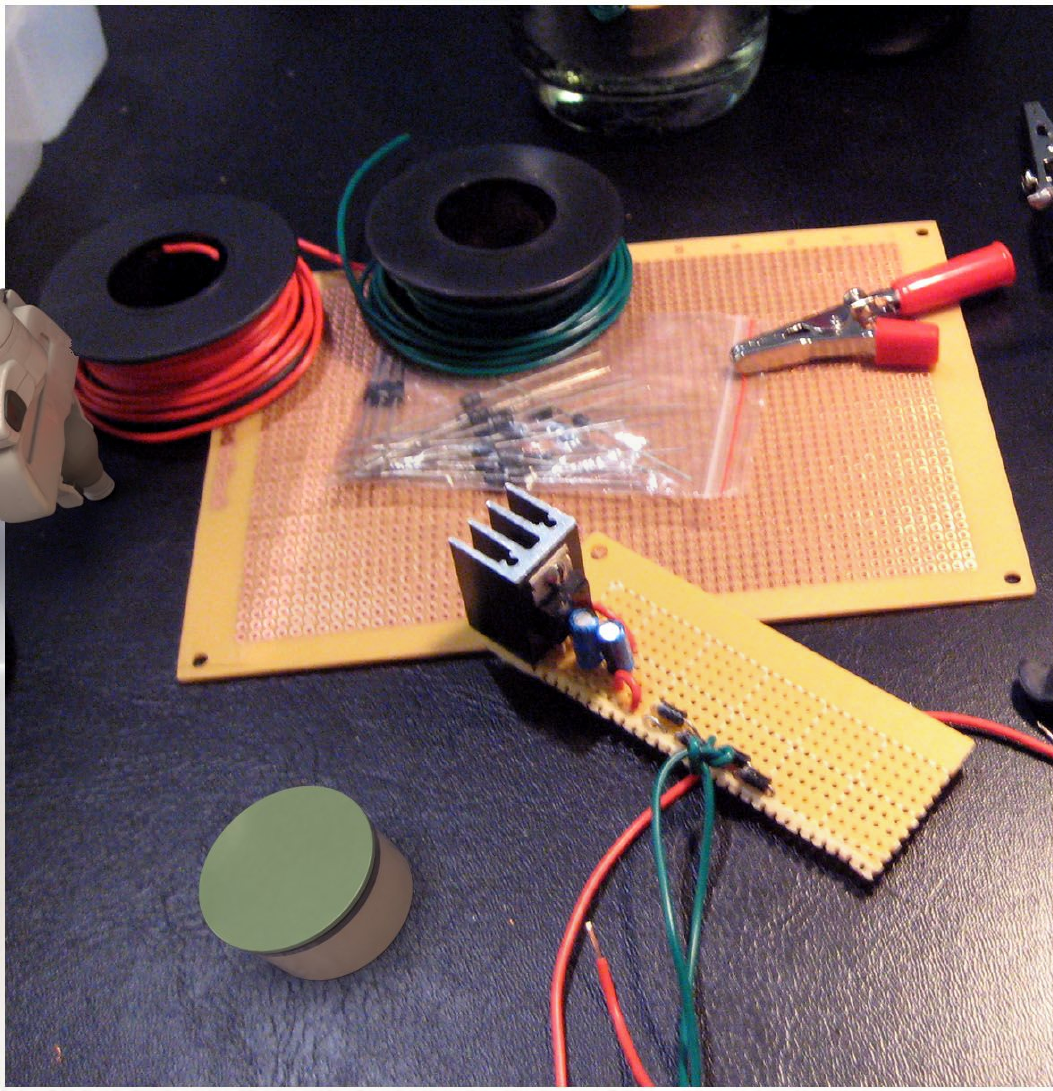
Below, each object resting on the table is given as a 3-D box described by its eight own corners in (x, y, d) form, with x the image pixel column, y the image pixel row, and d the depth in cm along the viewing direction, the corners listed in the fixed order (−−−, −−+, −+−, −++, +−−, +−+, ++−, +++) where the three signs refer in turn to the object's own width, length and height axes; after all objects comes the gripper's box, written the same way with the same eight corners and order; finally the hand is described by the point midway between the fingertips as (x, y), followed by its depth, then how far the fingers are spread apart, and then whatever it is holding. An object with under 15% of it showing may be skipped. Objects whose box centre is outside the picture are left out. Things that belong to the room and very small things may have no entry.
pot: (255, 1004, 86) (193, 972, 79) (260, 852, 92) (202, 809, 85) (421, 959, 87) (374, 924, 80) (414, 812, 93) (370, 767, 86)
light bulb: (123, 517, 110) (56, 449, 102) (58, 518, 110) (-13, 450, 102) (145, 465, 114) (83, 395, 105) (83, 467, 114) (15, 397, 106)
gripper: (-42, 284, 103) (57, 392, 114) (-86, 466, 92) (28, 565, 103) (36, 269, 104) (126, 377, 115) (2, 447, 92) (105, 548, 104)
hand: (80, 467), depth 109 cm, fingers open, 6 cm apart
